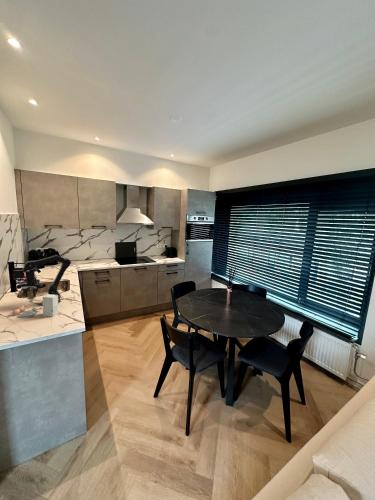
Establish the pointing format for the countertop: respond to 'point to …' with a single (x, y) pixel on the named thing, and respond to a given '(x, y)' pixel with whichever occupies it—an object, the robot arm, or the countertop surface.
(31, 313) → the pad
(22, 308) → the peach rounded capsule
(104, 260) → the countertop surface
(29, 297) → the walnut block
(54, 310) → the skincare box
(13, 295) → the countertop surface
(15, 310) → the peach capsule shape
